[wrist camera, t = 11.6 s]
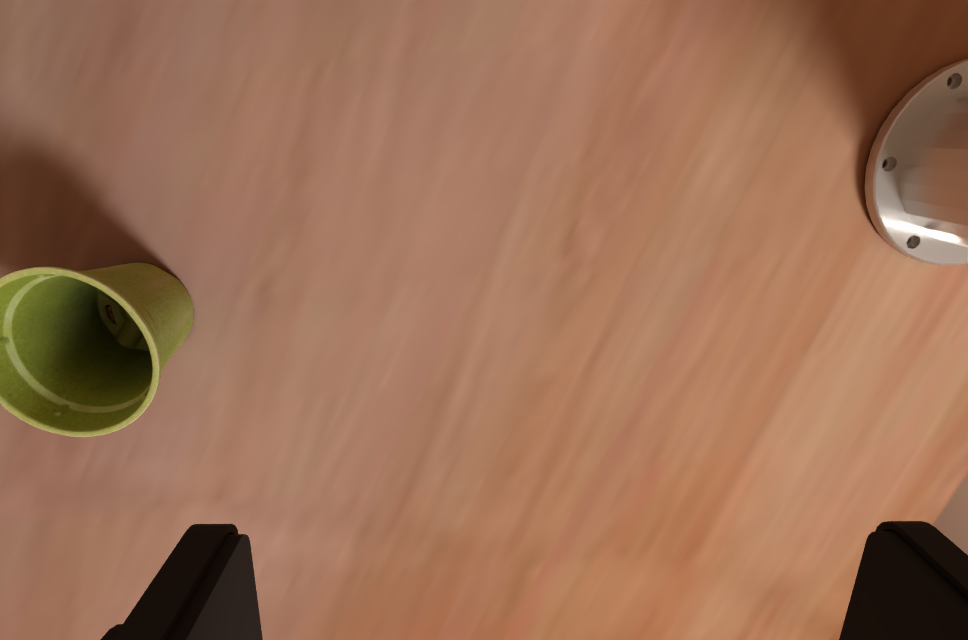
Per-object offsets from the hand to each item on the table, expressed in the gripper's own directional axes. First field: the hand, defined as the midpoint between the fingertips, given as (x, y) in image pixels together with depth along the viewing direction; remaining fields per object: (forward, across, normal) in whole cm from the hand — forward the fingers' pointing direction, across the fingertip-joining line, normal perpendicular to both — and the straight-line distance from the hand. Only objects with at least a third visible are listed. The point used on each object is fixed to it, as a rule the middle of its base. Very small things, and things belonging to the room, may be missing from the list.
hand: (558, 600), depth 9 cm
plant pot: (+31, +22, +5) cm, 38 cm away
